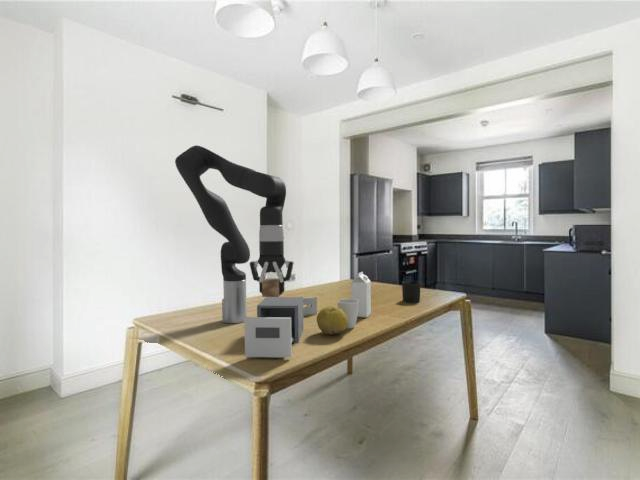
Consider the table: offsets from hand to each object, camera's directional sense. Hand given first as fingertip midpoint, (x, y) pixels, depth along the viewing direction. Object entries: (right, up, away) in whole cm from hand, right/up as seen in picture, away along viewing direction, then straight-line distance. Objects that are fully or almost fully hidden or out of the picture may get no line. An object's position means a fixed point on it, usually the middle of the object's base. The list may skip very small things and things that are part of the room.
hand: (272, 293), depth 111 cm
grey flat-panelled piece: (0, -17, 0) cm, 17 cm away
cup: (+26, -17, +27) cm, 41 cm away
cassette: (+8, -17, +46) cm, 50 cm away
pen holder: (+63, -15, +75) cm, 99 cm away
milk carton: (+33, -16, +44) cm, 58 cm away
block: (0, 0, 0) cm, 0 cm away
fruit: (+19, -17, +17) cm, 31 cm away
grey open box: (+1, -17, +16) cm, 24 cm away
